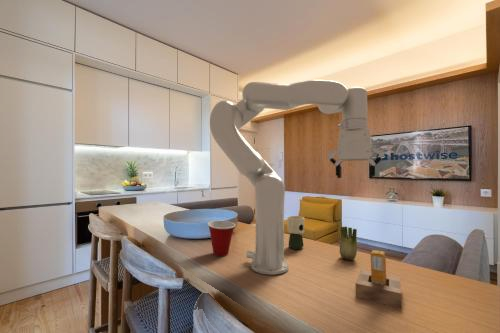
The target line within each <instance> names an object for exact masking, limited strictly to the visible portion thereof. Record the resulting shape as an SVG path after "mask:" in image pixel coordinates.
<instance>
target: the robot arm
mask: <svg viewBox="0 0 500 333" xmlns="http://www.w3.org/2000/svg"><path fill="white" fill-rule="evenodd" d="M241 95H242V99H241V100H240V101H239V102H237V103H236V104H235V103H233V101H230V100H220V101H219V102H217V103H216V104H214V106H213V108H212V110H211V112H210V116H209V129H210V132H211V135H212V136H213V139H214V140H215V143H217V145H218V147H220V149H221V150H222V152H223V153H224V154H225V155H226V157H227V158H228V159H229V161H230V162H231V163H232V164H233V165H234V167H235V168H236V170H238V172H239V173H240V175H242V176H244V177H246V178H247V179H248V181H249V182H250V183H251V184H252V185H253V186H254V187H255V188H254V189H255V190H254V192H255V194H254V196H255V199H254V200H255V250H252V249H248V250H247V251H246V255H245V257H246V258H248V259H252V261H251V262H250V268H251V270H252V271H254V272H255V273H258V274H262V275H270V276H272V275H273V276H274V275H281V274H282V275H283V274H284V273H286V272H287V271H288V270H289V263H288V262H287V261H285V197H286V196H285V194H286V193H285V192H286V191H285V190H286V188H285V184H284V181H283V179H282V177H280V176H279V175H278V174H277V173H276V172H275V171H274V169H273V168H272V167H271V166H270V165H269V163H268V162H267V161H266V160H265V159H264V158H263V157H262V154H260V153H259V152H258V151H256V150H255V149H254V148H253V147H252V146H251V145H250V144H249V143H248V141H247V140H246V139H245V138H244V136H243V135H242V134H241V132H240V131H239V130H240V129H241V128H243V127H244V126H245V125H247V124H248V123H249V122H251V120H253V119H254V118H256V117H257V116H259V114H261V113H262V112H263V111H264V110H265V109H268V110H269V109H271V110H283V111H288V110H292V109H295V108H296V107H300V106H304V105H317V108H318V110H319V111H320V112H321V113H323V114H326V115H331V114H337V113H342V116H341V117H342V121H341V123H340V124H339V123H338V124H337V128H338V129H341V130H340V131H339V134H338V140H337V148H336V149H334V150H332V151H330V152H328V153H327V157H328V159H329V161H330V162H331V163H332V164H333V165H334V166H335V176H336V177H337V179H341V178H342V166H341V164H343V162H344V161H346V162H348V161H349V162H350V161H367V162H368V163H369V164H370V165H369V179H371V180H372V179H373V178H374V177H375V176H376V166H377V165H378V164H379V163H380V162H381V161H382V159H383V158H384V156H385V155H386V151H384V150H381V149H379V148H377V147H374V146H373V141H372V134H371V130H370V128H368V91H367V89H366V88H365V87H364V86H363V87H361V86H353V87H349V88H347V86H346V85H345V84H343V83H342V82H339V81H335V80H325V79H311V80H305V81H298V82H293V83H276V82H265V81H262V82H261V81H252V82H248V83H247V84H245V86H244V87H243V89H242V94H241ZM373 153H376V154H378V156H377V158H376V159H374V160H373ZM336 154H337V160H336V159H335V158H334V155H336Z"/></svg>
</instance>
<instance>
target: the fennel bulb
mask: <svg viewBox="0 0 500 333" xmlns="http://www.w3.org/2000/svg"><path fill="white" fill-rule="evenodd" d="M357 230H358V229H357V228H352V227H348V226H340V242H339V254H340V257H341V258H343V259H344V260H347V261H353V260H356V257H357V253H358V252H357V251H358V244H357V243H358V242H357Z"/></svg>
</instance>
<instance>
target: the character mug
mask: <svg viewBox="0 0 500 333" xmlns="http://www.w3.org/2000/svg"><path fill="white" fill-rule="evenodd" d="M305 222H306V221H305V217H304V216H300V215H289V216H287V232H288V233H290V234H289V238H288V247H289V248H292V249H294V250H300V249H301V250H302V249H304V239H303V235H302V234H304V233H305Z"/></svg>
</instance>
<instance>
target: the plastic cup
mask: <svg viewBox="0 0 500 333" xmlns="http://www.w3.org/2000/svg"><path fill="white" fill-rule="evenodd" d="M207 226H208V228H209V233H210V243H211V246H212V254H213V255H214V256H216V257H225V256H228V255H229V253H230V246H231V241H232V236H233V231H234V228H235V227H236V223H235V222H232V221H227V220H212V221H209V222H207Z"/></svg>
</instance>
